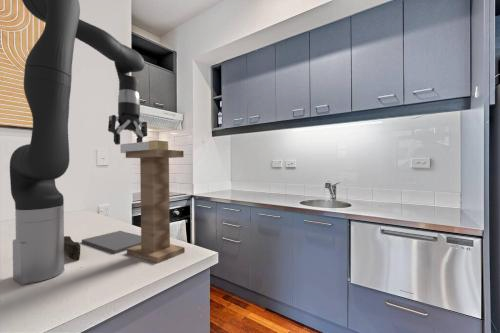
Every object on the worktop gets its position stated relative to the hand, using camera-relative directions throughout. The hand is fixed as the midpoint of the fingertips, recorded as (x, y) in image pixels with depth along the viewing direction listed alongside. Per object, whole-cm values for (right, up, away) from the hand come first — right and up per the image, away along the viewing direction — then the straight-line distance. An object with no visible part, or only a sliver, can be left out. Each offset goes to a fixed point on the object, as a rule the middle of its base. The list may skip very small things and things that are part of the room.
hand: (128, 145), depth 93 cm
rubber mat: (-1, -35, -5) cm, 36 cm away
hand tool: (-10, -36, -15) cm, 40 cm away
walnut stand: (+17, -35, -16) cm, 42 cm away
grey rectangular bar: (+11, -3, -13) cm, 17 cm away
